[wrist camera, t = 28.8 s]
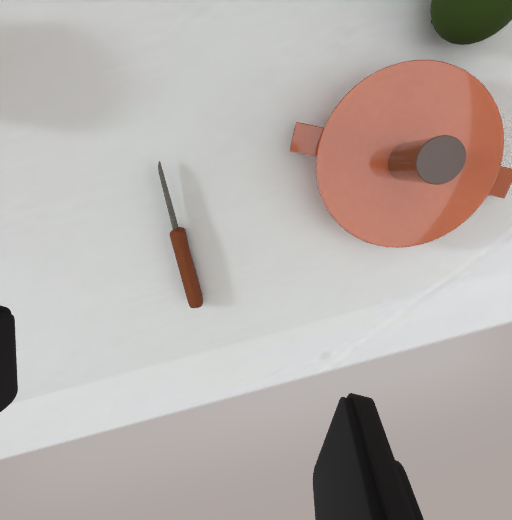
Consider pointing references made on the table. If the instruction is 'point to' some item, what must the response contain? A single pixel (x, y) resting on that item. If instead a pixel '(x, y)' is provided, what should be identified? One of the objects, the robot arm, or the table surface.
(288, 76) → the table surface
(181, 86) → the table surface
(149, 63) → the table surface
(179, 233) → the kitchen knife
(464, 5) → the avocado
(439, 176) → the lid
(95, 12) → the table surface
